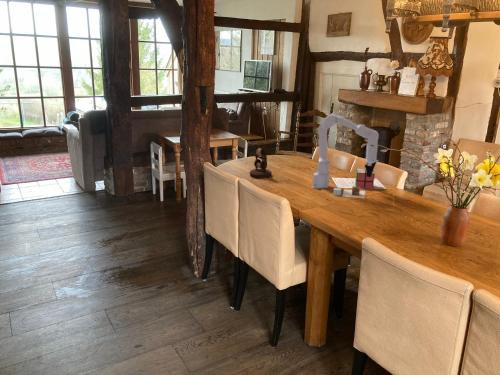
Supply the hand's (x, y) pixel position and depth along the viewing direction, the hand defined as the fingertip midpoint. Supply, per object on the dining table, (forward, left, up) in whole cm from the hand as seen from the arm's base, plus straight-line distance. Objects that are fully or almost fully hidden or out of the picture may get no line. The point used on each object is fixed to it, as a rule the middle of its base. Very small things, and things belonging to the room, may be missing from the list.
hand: (369, 175), depth 240 cm
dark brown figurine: (-70, +16, -10) cm, 72 cm away
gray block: (-17, -13, -10) cm, 23 cm away
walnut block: (-7, -10, -9) cm, 15 cm away
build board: (-8, -9, -10) cm, 15 cm away
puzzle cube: (-3, +10, -10) cm, 15 cm away
